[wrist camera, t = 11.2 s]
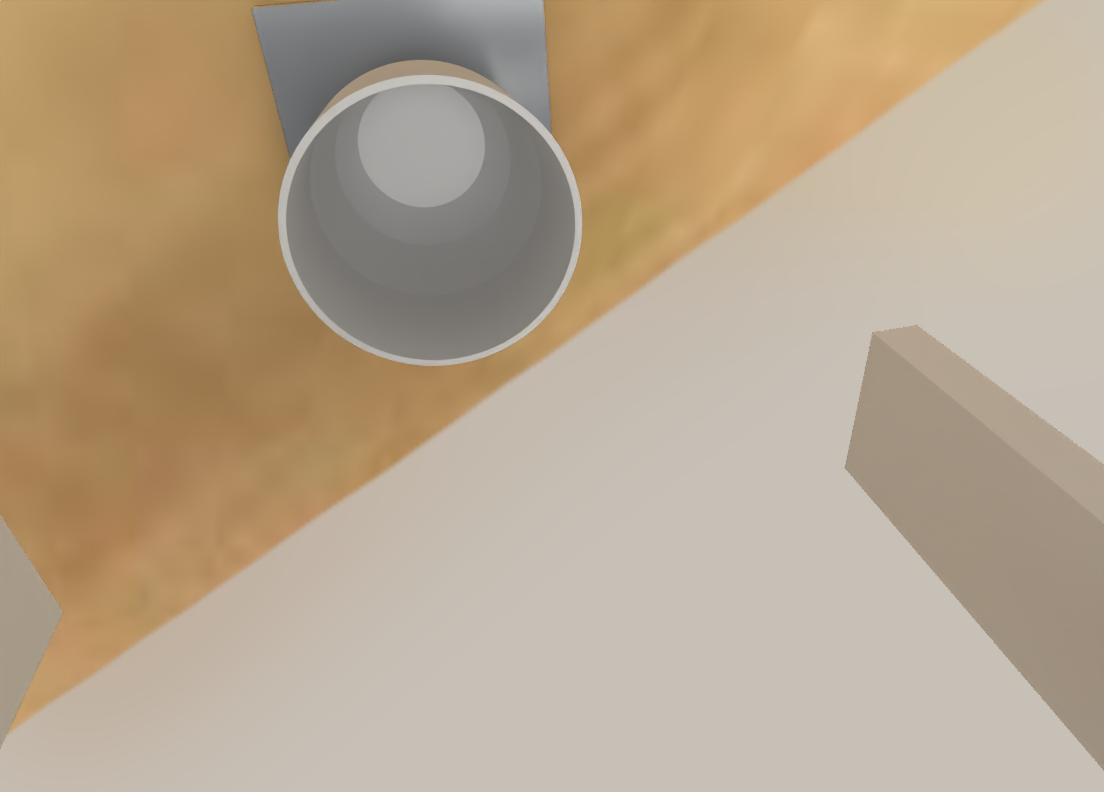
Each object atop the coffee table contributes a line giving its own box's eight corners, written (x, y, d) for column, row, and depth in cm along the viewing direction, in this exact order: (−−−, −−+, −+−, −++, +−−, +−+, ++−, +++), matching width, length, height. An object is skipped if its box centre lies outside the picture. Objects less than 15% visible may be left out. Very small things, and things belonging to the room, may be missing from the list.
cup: (481, 270, 31) (516, 394, 23) (287, 205, 28) (246, 321, 20) (558, 81, 28) (631, 149, 19) (344, -15, 25) (324, 16, 17)
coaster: (323, 272, 31) (321, 280, 30) (254, 6, 25) (251, 8, 25) (554, 242, 32) (558, 249, 31) (538, -19, 27) (542, -17, 26)
